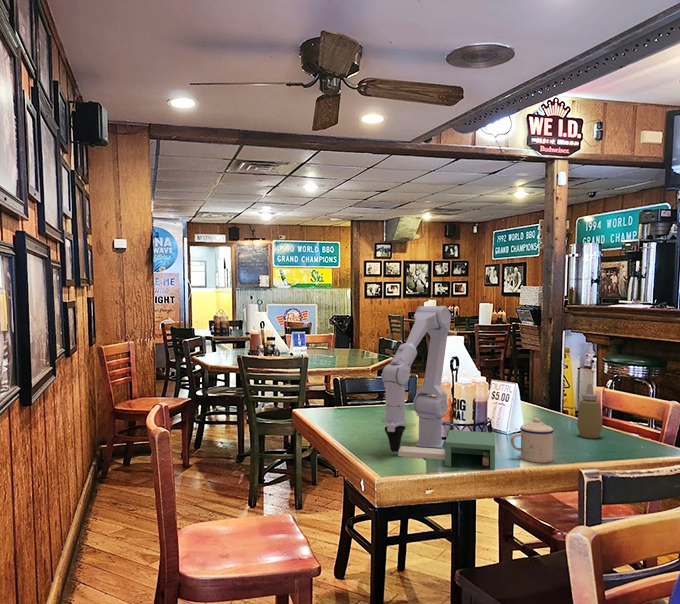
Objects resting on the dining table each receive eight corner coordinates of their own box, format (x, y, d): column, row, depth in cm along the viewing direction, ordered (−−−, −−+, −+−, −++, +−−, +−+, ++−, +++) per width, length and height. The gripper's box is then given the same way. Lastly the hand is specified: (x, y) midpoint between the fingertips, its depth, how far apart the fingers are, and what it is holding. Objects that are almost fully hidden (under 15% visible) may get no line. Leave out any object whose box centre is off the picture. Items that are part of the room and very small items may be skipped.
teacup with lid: (546, 454, 164) (546, 415, 164) (558, 463, 155) (558, 421, 155) (505, 454, 164) (506, 415, 164) (516, 463, 154) (516, 421, 155)
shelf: (449, 451, 167) (449, 429, 167) (494, 454, 163) (494, 432, 163) (444, 465, 151) (445, 442, 151) (494, 469, 148) (494, 445, 148)
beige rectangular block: (401, 452, 167) (401, 446, 167) (448, 456, 163) (448, 449, 163) (398, 457, 161) (398, 451, 161) (446, 461, 157) (446, 454, 157)
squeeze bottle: (571, 435, 189) (571, 383, 189) (587, 433, 193) (587, 381, 193) (591, 440, 182) (592, 386, 182) (608, 438, 185) (608, 384, 186)
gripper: (386, 400, 171) (386, 444, 171) (376, 408, 157) (376, 456, 157) (409, 401, 169) (408, 446, 169) (401, 410, 155) (401, 458, 155)
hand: (394, 451), depth 163 cm, fingers closed
